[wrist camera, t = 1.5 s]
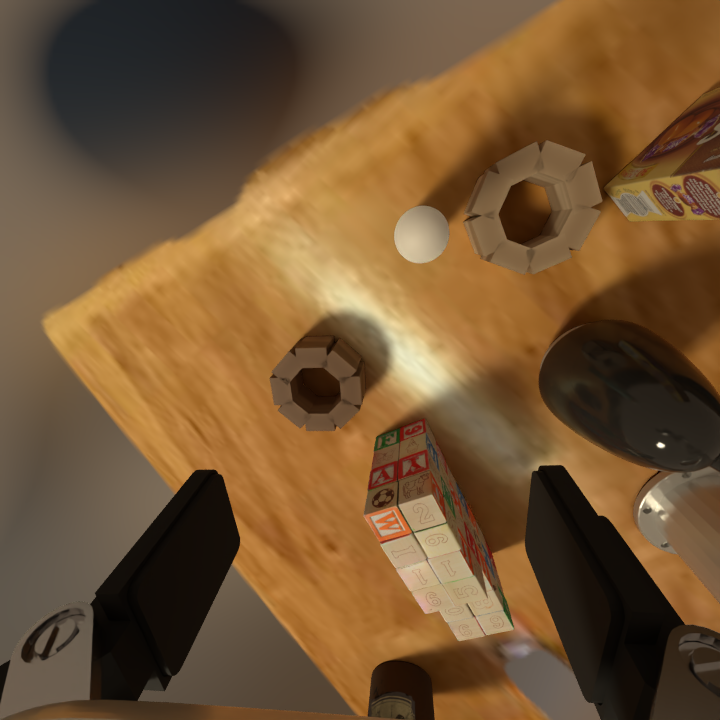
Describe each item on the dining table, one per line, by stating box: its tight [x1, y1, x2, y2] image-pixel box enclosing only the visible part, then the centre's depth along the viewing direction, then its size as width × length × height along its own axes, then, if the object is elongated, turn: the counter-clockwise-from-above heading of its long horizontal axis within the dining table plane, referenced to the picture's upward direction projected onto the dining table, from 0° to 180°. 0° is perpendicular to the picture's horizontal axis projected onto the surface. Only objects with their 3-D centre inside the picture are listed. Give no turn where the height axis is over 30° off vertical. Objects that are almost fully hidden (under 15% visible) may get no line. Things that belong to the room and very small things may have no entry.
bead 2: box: [463, 140, 603, 275], centre depth 29 cm, size 9×9×4 cm
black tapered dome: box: [539, 320, 720, 473], centre depth 27 cm, size 10×10×15 cm
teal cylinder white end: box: [394, 206, 449, 263], centre depth 26 cm, size 3×3×13 cm
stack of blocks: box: [364, 419, 514, 641], centre depth 36 cm, size 21×6×12 cm, turn 27°
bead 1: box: [270, 336, 366, 431], centre depth 36 cm, size 9×9×4 cm
